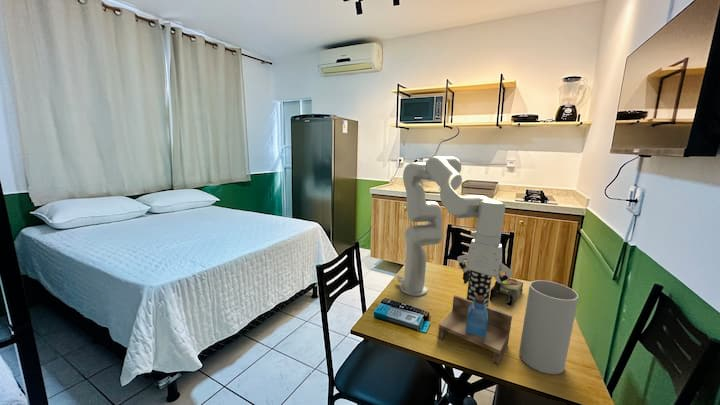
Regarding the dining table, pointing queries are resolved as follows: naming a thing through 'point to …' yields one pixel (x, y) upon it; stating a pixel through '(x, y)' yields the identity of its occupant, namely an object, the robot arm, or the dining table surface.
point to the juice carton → (510, 290)
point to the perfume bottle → (477, 317)
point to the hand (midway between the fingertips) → (480, 287)
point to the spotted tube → (479, 286)
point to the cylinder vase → (548, 326)
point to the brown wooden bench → (494, 335)
